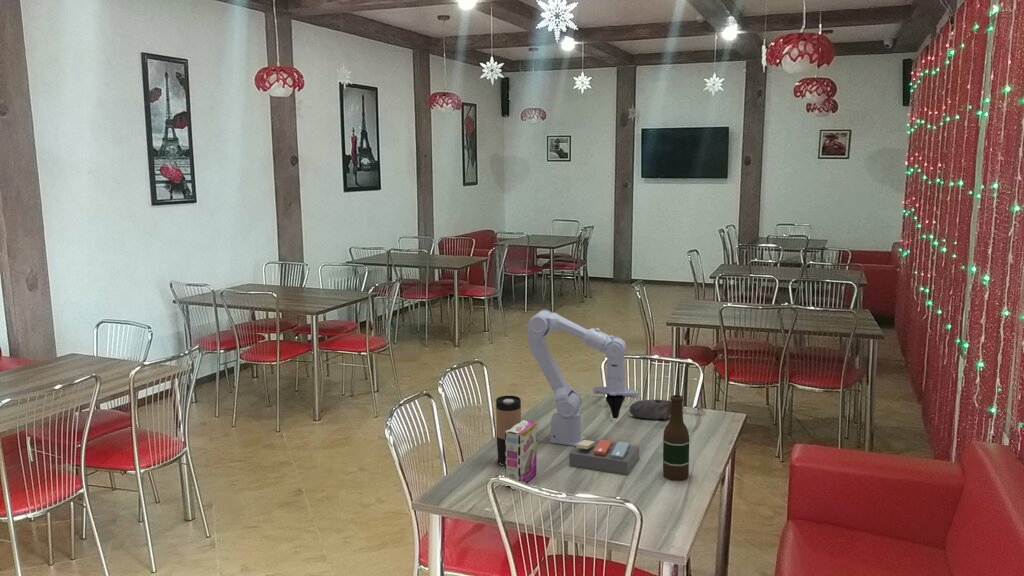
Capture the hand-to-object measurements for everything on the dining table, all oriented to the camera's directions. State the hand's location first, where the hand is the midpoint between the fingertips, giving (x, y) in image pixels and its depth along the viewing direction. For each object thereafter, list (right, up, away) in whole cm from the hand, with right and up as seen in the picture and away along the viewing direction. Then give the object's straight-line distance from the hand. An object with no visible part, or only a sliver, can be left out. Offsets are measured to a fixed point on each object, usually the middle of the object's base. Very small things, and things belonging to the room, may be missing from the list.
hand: (615, 417), depth 242 cm
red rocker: (-6, -8, -14) cm, 17 cm away
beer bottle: (+14, -13, -22) cm, 30 cm away
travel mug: (-34, -12, -10) cm, 37 cm away
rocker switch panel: (-5, -12, -12) cm, 17 cm away
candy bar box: (-30, -14, -23) cm, 41 cm away
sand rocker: (-11, -8, -12) cm, 17 cm away
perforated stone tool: (+16, -5, +26) cm, 31 cm away
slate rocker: (-1, -8, -16) cm, 18 cm away
